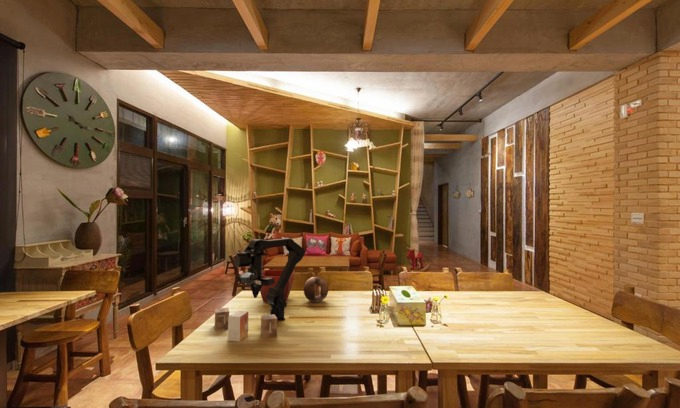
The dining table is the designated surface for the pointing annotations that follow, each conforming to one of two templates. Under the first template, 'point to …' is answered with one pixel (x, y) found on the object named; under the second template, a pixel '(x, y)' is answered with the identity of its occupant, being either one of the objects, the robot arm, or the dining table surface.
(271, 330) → the walnut block one
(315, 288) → the wooden sphere
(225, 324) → the walnut block seven
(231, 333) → the small box
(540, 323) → the dining table surface
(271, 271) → the plant pot
